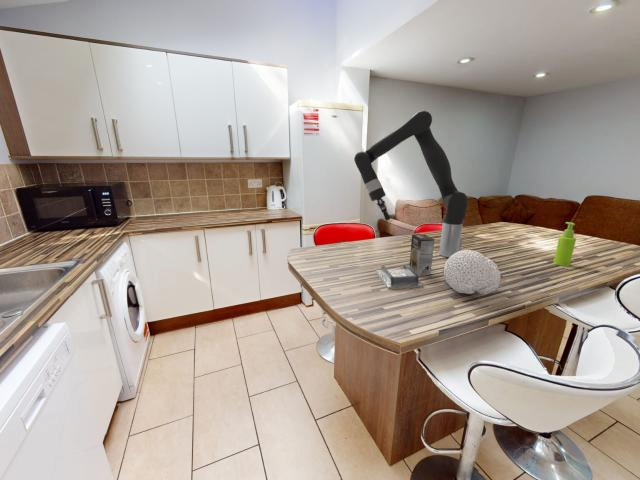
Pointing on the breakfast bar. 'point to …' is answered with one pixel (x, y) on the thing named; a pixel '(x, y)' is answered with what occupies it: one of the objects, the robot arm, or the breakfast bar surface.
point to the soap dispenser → (565, 247)
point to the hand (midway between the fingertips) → (388, 219)
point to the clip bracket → (399, 278)
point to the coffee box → (421, 254)
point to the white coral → (471, 273)
